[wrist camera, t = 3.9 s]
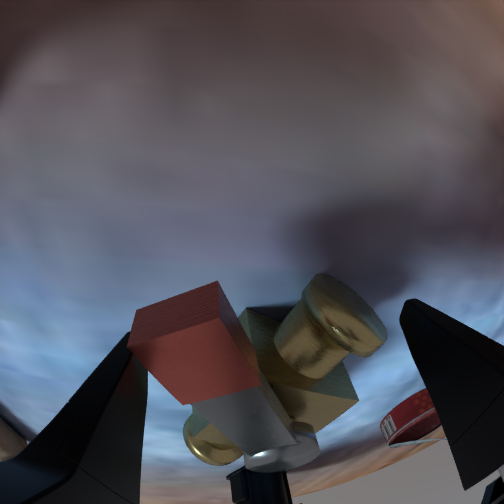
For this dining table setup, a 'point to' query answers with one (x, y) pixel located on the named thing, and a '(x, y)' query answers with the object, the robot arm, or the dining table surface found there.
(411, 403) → the canned food
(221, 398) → the lever
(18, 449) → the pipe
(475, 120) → the dining table surface
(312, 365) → the valve
